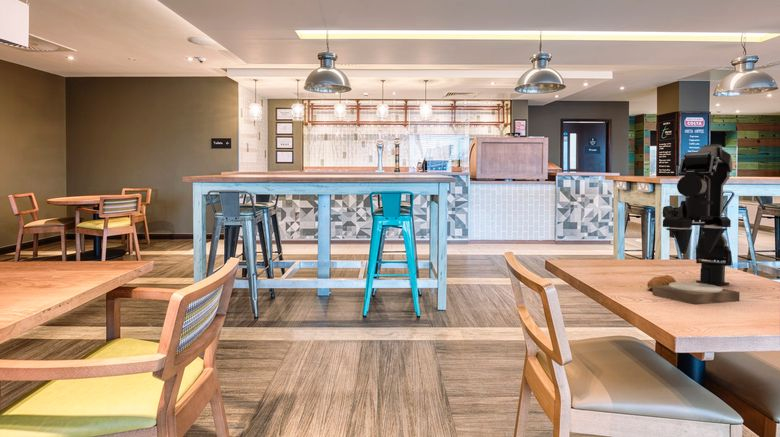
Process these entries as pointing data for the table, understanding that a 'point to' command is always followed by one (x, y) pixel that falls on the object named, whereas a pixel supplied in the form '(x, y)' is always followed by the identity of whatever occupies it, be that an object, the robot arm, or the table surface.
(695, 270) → the table surface
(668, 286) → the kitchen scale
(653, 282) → the pastry
